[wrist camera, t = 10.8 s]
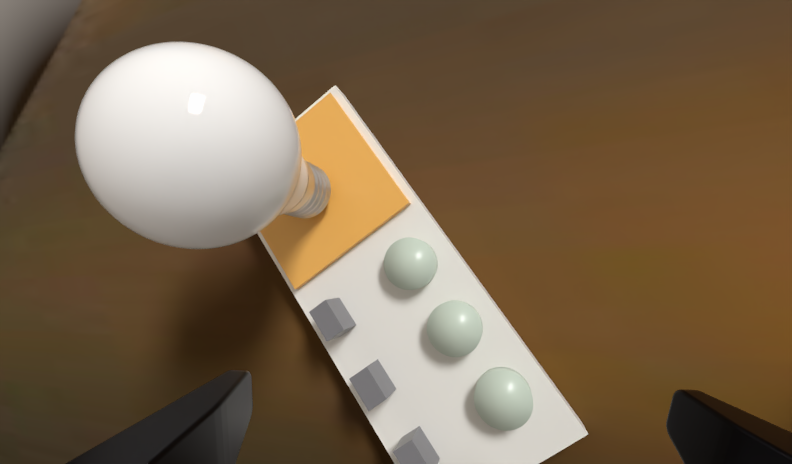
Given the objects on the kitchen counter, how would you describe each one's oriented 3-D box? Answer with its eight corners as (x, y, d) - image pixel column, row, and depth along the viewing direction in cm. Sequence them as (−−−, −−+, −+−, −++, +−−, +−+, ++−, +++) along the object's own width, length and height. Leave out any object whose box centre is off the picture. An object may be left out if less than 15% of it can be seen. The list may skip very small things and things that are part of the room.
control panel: (583, 423, 18) (596, 450, 15) (436, 511, 19) (425, 550, 17) (344, 94, 22) (321, 70, 20) (238, 183, 24) (203, 172, 21)
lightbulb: (386, 234, 19) (242, 191, 9) (272, 272, 21) (30, 274, 10) (352, 114, 20) (187, -52, 10) (245, 158, 22) (1, 53, 11)
